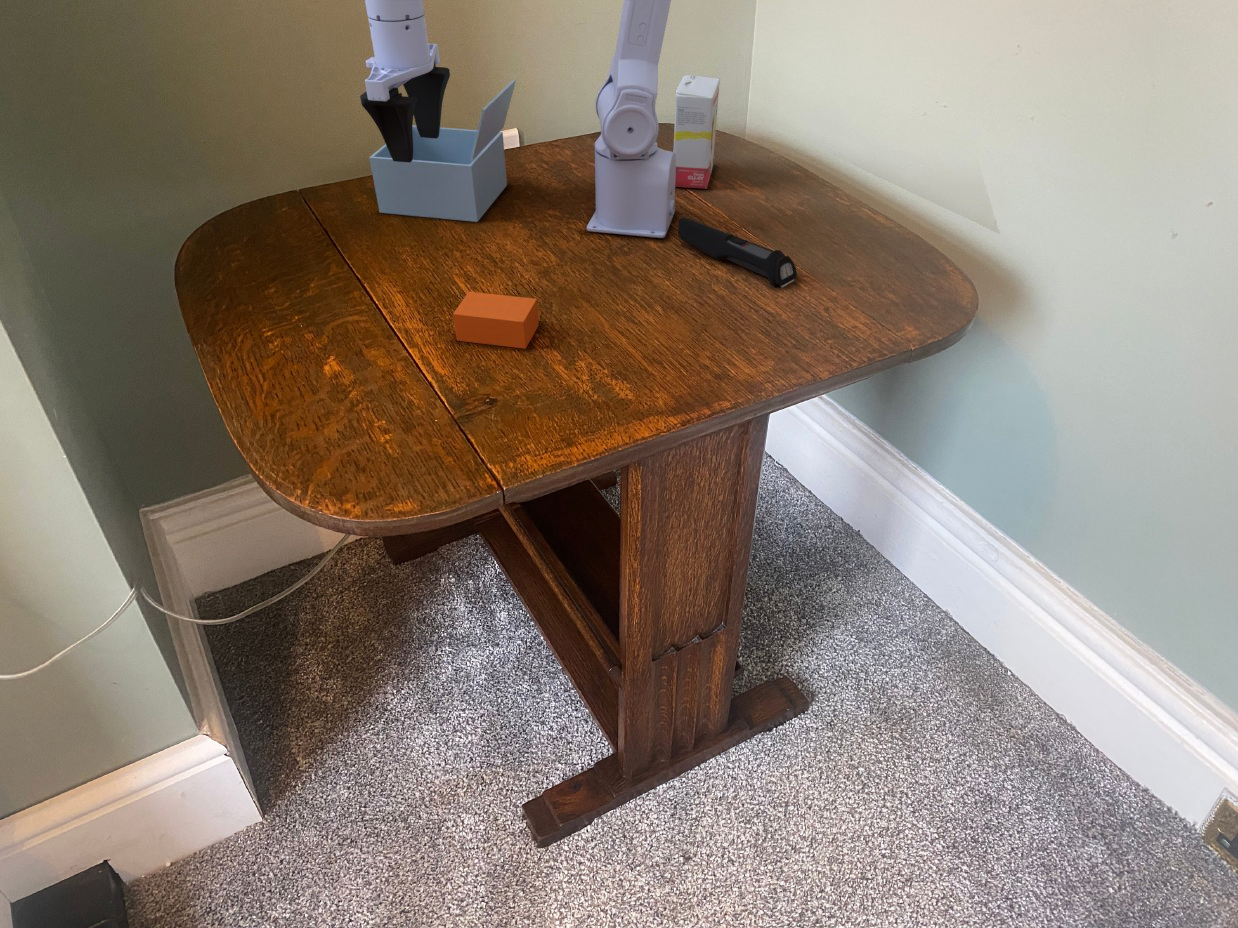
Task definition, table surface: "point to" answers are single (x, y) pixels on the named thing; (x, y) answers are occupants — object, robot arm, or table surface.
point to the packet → (496, 319)
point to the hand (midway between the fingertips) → (416, 148)
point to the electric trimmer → (738, 251)
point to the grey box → (441, 177)
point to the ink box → (695, 130)
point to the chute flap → (492, 119)
